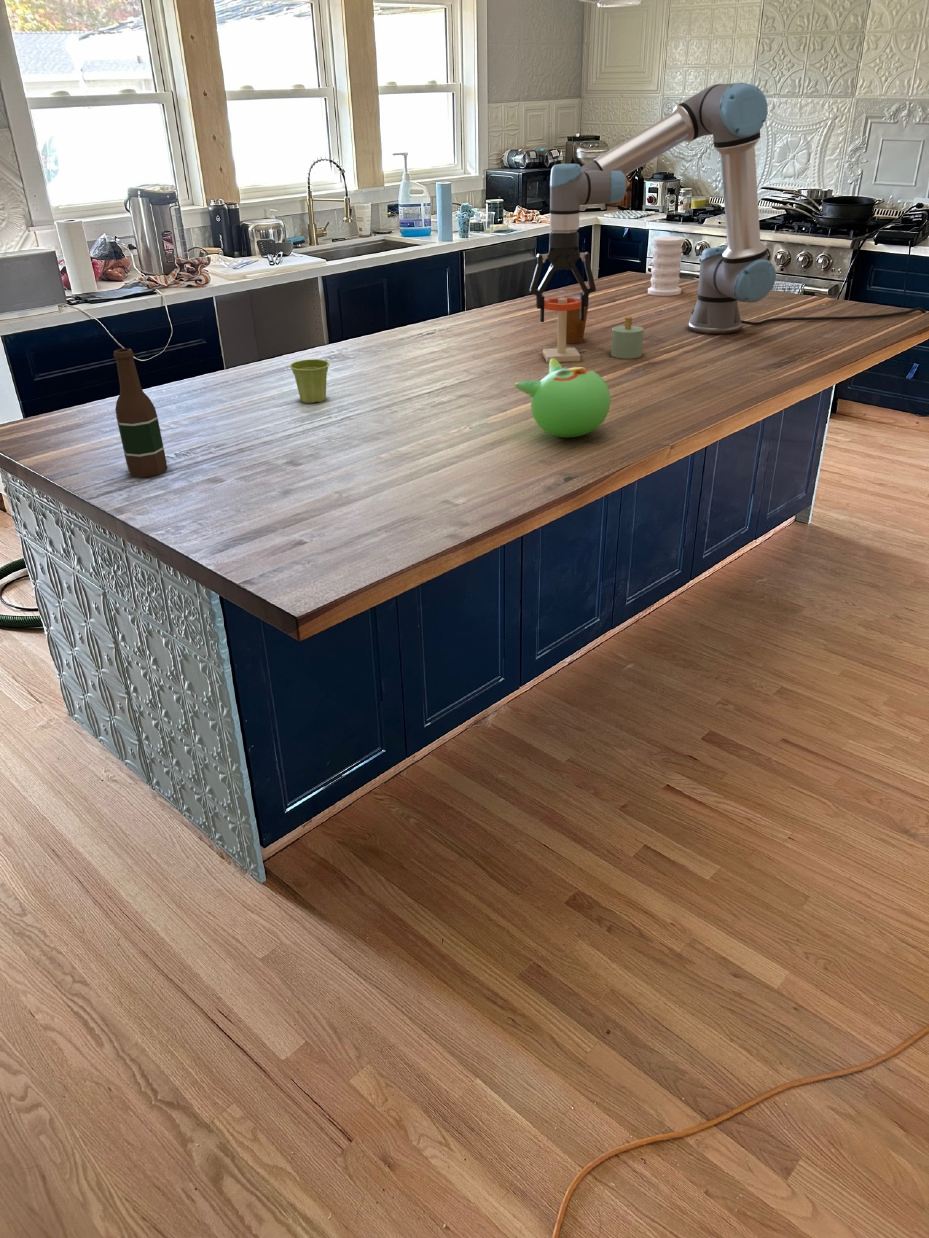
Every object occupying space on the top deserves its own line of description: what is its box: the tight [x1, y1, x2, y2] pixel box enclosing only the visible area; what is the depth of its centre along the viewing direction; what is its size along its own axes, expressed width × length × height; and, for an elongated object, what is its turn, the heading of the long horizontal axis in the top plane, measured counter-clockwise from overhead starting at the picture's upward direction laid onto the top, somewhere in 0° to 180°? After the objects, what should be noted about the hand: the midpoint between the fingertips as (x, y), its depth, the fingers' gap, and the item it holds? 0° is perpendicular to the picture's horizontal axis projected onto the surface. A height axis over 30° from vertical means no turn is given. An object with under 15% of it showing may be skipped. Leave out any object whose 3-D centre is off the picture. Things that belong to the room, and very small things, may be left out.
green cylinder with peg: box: [610, 316, 645, 360], centre depth 251 cm, size 8×8×10 cm
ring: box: [544, 296, 582, 312], centre depth 245 cm, size 10×10×2 cm
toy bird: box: [514, 358, 611, 439], centre depth 193 cm, size 18×17×15 cm
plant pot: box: [289, 358, 330, 404], centre depth 222 cm, size 9×9×9 cm
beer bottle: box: [113, 347, 168, 479], centre depth 178 cm, size 8×8×24 cm
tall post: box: [542, 298, 581, 364], centre depth 249 cm, size 9×9×16 cm
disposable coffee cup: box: [560, 294, 591, 344], centre depth 266 cm, size 10×10×12 cm
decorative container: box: [647, 235, 685, 297], centre depth 322 cm, size 12×12×18 cm
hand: (561, 320), depth 248 cm, fingers closed on ring, 10 cm apart
